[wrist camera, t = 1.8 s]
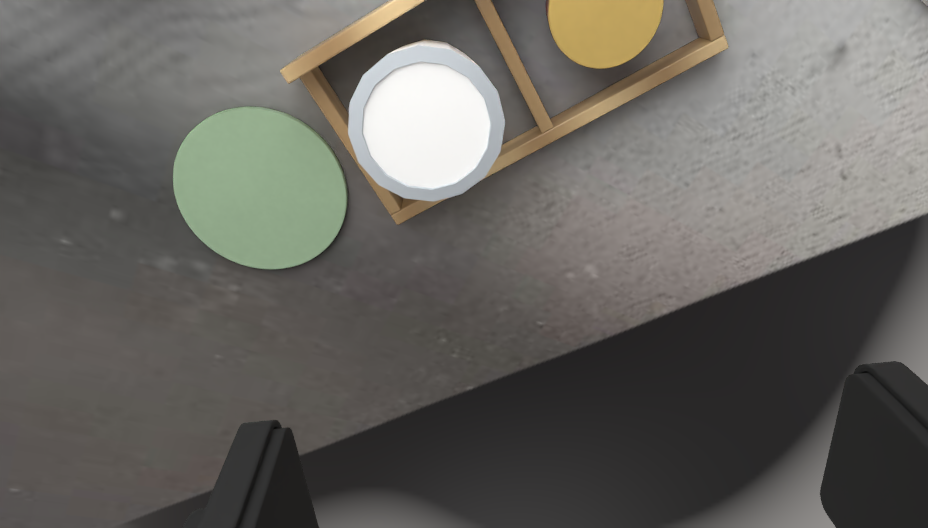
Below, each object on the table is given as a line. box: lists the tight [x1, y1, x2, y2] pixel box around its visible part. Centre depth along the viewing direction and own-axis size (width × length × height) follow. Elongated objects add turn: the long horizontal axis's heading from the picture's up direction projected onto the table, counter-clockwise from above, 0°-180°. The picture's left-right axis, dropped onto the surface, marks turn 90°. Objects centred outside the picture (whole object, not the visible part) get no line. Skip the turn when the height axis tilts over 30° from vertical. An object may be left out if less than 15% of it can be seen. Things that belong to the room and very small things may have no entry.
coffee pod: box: [546, 0, 663, 69], centre depth 30 cm, size 5×5×4 cm
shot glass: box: [348, 39, 505, 202], centre depth 30 cm, size 7×7×7 cm
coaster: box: [173, 106, 348, 269], centre depth 35 cm, size 10×10×1 cm
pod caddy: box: [280, 0, 728, 225], centre depth 31 cm, size 19×10×4 cm, turn 119°
